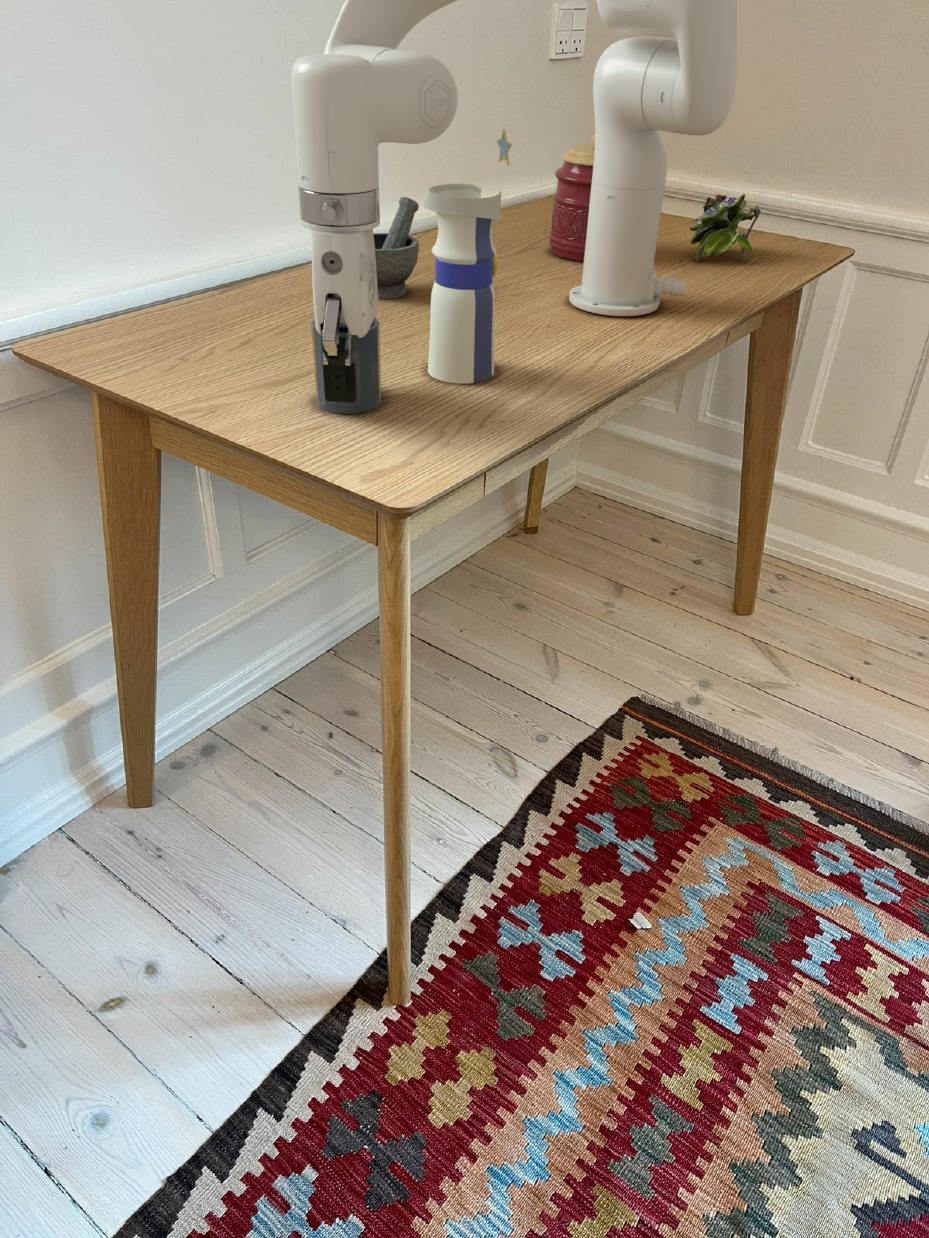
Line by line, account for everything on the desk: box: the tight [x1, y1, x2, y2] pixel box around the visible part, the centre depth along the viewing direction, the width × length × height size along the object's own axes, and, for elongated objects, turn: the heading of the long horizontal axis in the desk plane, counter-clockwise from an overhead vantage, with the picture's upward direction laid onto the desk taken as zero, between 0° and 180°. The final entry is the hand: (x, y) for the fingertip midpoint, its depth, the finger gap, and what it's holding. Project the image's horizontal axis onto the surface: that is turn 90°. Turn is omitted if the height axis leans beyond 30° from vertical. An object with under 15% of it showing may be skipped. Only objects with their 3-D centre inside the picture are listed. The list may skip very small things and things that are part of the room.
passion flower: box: [689, 192, 762, 262], centre depth 150 cm, size 11×11×12 cm
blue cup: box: [310, 317, 382, 415], centre depth 97 cm, size 7×7×8 cm
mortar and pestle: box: [373, 196, 420, 300], centre depth 128 cm, size 11×9×12 cm
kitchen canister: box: [548, 133, 595, 262], centre depth 147 cm, size 13×13×18 cm
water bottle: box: [422, 128, 513, 385], centre depth 100 cm, size 8×9×25 cm
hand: (348, 385), depth 98 cm, fingers open, 7 cm apart
